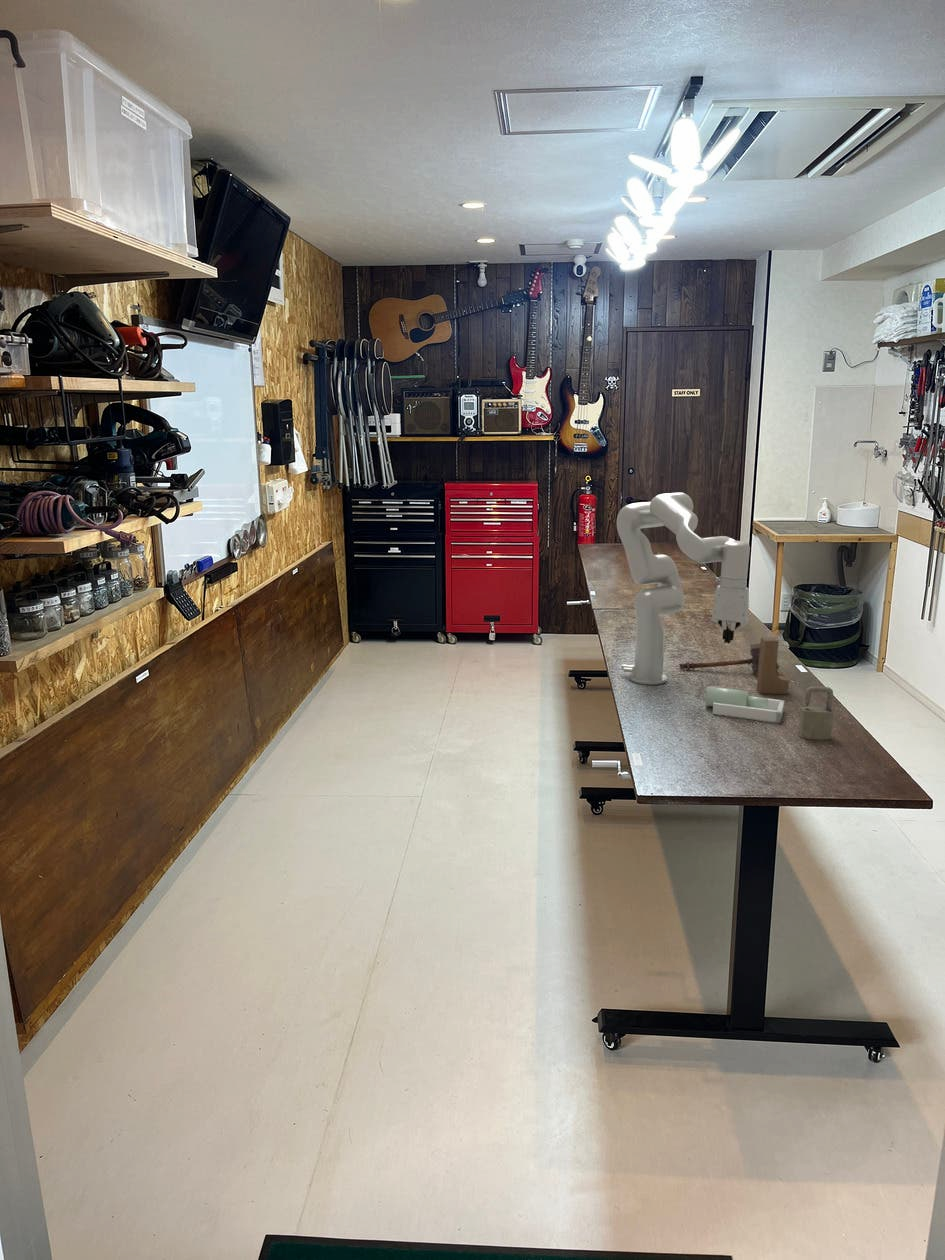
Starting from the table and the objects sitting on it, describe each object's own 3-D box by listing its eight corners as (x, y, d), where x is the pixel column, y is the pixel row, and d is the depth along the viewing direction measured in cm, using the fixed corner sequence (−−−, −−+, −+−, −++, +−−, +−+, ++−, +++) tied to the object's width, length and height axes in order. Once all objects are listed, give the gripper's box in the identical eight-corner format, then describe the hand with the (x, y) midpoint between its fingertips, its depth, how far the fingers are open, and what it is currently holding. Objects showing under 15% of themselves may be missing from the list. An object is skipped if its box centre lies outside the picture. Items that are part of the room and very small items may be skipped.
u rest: (712, 714, 274) (713, 703, 273) (718, 702, 284) (719, 692, 283) (780, 723, 267) (781, 712, 266) (783, 711, 277) (784, 700, 276)
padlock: (798, 733, 259) (803, 684, 255) (827, 734, 258) (833, 685, 254) (801, 738, 255) (806, 688, 251) (831, 740, 254) (836, 689, 250)
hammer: (780, 674, 308) (776, 646, 305) (682, 686, 315) (678, 659, 313) (777, 668, 314) (774, 640, 312) (681, 680, 322) (677, 653, 320)
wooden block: (783, 689, 296) (788, 636, 291) (788, 694, 292) (793, 640, 287) (756, 689, 296) (760, 636, 291) (760, 694, 292) (765, 640, 287)
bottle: (706, 686, 277) (767, 693, 271) (708, 686, 283) (768, 693, 276) (704, 705, 277) (765, 713, 271) (706, 705, 283) (766, 712, 276)
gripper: (705, 582, 267) (700, 642, 272) (757, 588, 262) (751, 648, 267) (709, 577, 274) (704, 635, 279) (760, 582, 268) (754, 641, 273)
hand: (727, 641), depth 273 cm, fingers closed
